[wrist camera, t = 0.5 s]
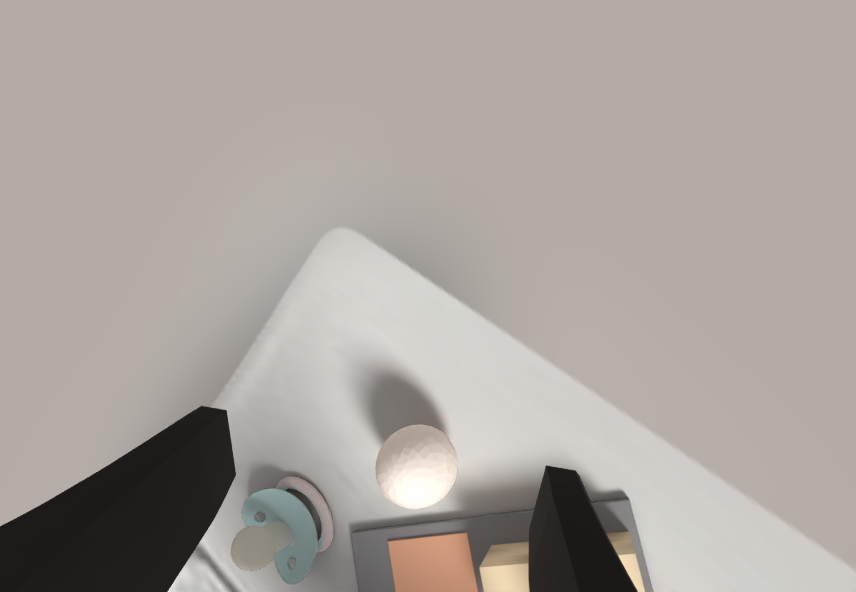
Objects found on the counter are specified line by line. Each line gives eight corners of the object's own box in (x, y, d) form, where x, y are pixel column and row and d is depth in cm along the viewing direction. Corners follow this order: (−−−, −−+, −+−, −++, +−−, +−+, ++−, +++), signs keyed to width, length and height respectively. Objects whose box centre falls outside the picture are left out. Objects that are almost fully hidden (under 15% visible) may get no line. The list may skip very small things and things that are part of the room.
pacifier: (298, 457, 39) (250, 508, 40) (249, 470, 33) (193, 530, 34) (353, 531, 37) (301, 584, 37) (311, 559, 31) (251, 622, 31)
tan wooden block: (629, 531, 30) (635, 553, 27) (648, 607, 29) (658, 642, 26) (491, 545, 33) (479, 567, 29) (505, 616, 32) (494, 648, 28)
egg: (422, 507, 35) (382, 540, 28) (387, 442, 37) (341, 459, 30) (481, 471, 34) (455, 496, 27) (443, 406, 36) (409, 414, 29)
